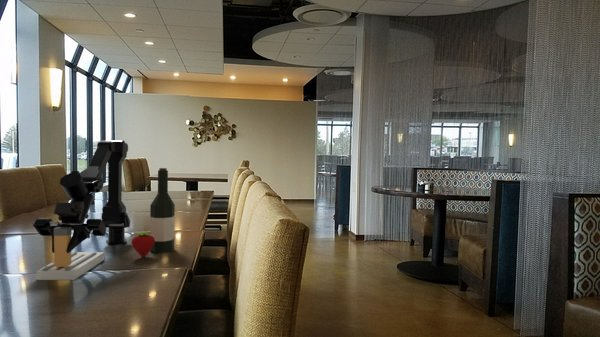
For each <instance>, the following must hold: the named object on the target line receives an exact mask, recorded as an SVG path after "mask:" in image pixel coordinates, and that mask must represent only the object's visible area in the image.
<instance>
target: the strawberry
mask: <svg viewBox="0 0 600 337" xmlns="http://www.w3.org/2000/svg"><path fill="white" fill-rule="evenodd" d="M143 230H144V231H142V232H141V233H136V234H135V236H134V237H132V239H131V247H132V248H133V250H134V251H136V253H137V254H138V255H139V256H140V257H141V258H145V257H146V256H147V255H148V254H149V253H150V252H151V251H150V250H151V249H152V247H153V245H154V242H155V239H154V237H153V236H151V235H150V234H152V233H150V232H146V230H145V228H143Z"/></svg>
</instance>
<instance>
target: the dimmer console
mask: <svg viewBox="0 0 600 337" xmlns="http://www.w3.org/2000/svg"><path fill="white" fill-rule="evenodd" d="M104 260H105V252H101V251H100V252H99V251H93V252H91V251H86V252H84V251H83V252H80V251H71V265H69V266H67V267H54V261H53V262H51V263H49V264H46V265H44V266H43V267H42V268H40V269H38V270H36V281H75V280H76V279H78V278H79V277H81V276H83V275H84V274H85V273H87V272H88V271H90V270H91V269H92V268H94V267H95V266H98V264H100V263H101V262H103V261H104Z"/></svg>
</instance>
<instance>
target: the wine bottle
mask: <svg viewBox="0 0 600 337" xmlns="http://www.w3.org/2000/svg"><path fill="white" fill-rule="evenodd" d="M167 169H168V168H166V167H159V169H158V171H157V194H156V195H155V198H154V199H153V200H152V202H151V204H150V208H149V209H150V211H149V212H150V215H149V216H150V217H149V218H150V220H149V222H150V223H149V224H150V225H149V227H150V231H149V233H152V234H149V235H151V236H153V237H154V239H155V242H154V245H153V247H152V249H151V250H150V251H149V252H151V253H153V254H167V253H171V252H173V251H174V250H175V211H176V210H175V209H176V208H175V206H176V205H175V203H174V201H173V200H172V198H171V196H170V194H169V193H168V191H169V189H168V188H169V187H168V186H169V185H168V184H169V170H167Z"/></svg>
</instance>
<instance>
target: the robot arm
mask: <svg viewBox="0 0 600 337" xmlns="http://www.w3.org/2000/svg"><path fill="white" fill-rule="evenodd" d="M128 152H129V145H128V143H127V142H126V141H125V140H120V139H119V140H118V139H115V140H114V139H107V140H100V141H98V142H97V144H96V149H95V151H94V154H93V155H92V157H91V159H90V162H89V164H88V166H87V167H86V168H85V169H84V170H82V171H80V170H71V172H70V173H67V174H65V175H64V176H62V177H61V178H60V181H59V184H60V186H61V187H62V189H63V190H64V193H65V195H66V196H67V197H68V198H70V201H69V202H56V203H55V206H54V211H53V214H54V215H57V216H58V217H57V219H58V220H59V221H53V220H52V218H51V217H48V218H45V217H44V218H43V217H42V218H41V217H40V218H36V219H35V220H34V222H33V224H32V226H33V228H34V229H35V230H36V232H37V233H38V234H39V235H40V236H42V237H51V252H52V253H53V254H54V228H57V227H72V231H73V233H72V234H71V240H70V242H69V244H68V247H67V250H66V252H67V253H69V252H71V253H72V252H73V250H74V249H75V248H76V247H77V246H79V245H80V244H81V243H82V242H84V241H86V240H87V239H90V238H91V234H92V235H93V236H94V237H104V236H105V235H106V232H107V234H108V235H107V237H108V238H107V239H108V240H105V242H106V244H108V246H112V245H120V244H127V243H128V242H127V240H126V239H125V236H126V235H125V229H126V228H130V226H131V219H130V217H129V215H128V212H127V208H126V207H127V206H126V205H125V204H124V202H123V200H122V196H123V195H122V193H123V192H122V189H123V188H122V187H123V186H122V185H123V184H122V183H123V180H122V178H123V163H124V161H125V159H126V158H127V155H128ZM107 164H108V165H107ZM106 166H107V169H108V170H107V171H108V172H107V174H108V176H107V178H108V179H107V201H106V203H105V205H104V206H103V207H102V208H101V210H102V213H101V218H89V211H90V209H91V206H92V205H93V206H94V205H95V200H94V198H95V197H94V195H93V194H97V193H100V192H101V190H102V189H103V188H104V179H103V173H104V171H105V170H106ZM60 221H61V222H60ZM85 221H86V222H85ZM107 228H108V229H107ZM107 230H108V231H107Z"/></svg>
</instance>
